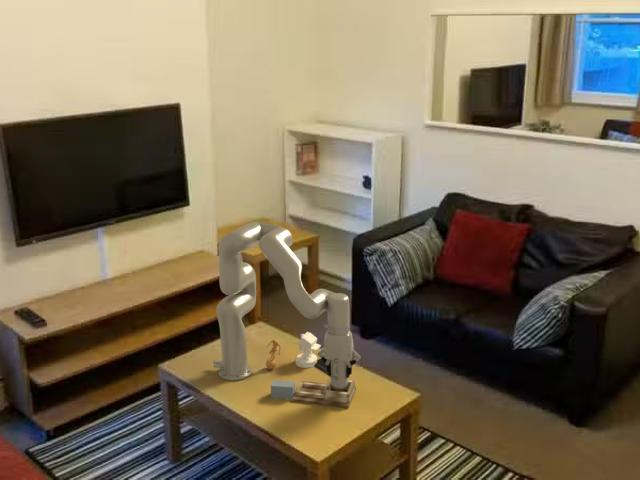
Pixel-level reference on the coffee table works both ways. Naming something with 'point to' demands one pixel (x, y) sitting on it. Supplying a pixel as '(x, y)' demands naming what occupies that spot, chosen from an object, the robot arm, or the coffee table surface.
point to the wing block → (282, 389)
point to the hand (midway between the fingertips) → (339, 374)
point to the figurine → (271, 362)
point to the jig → (325, 394)
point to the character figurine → (307, 351)
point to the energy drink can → (338, 373)
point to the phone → (321, 365)
